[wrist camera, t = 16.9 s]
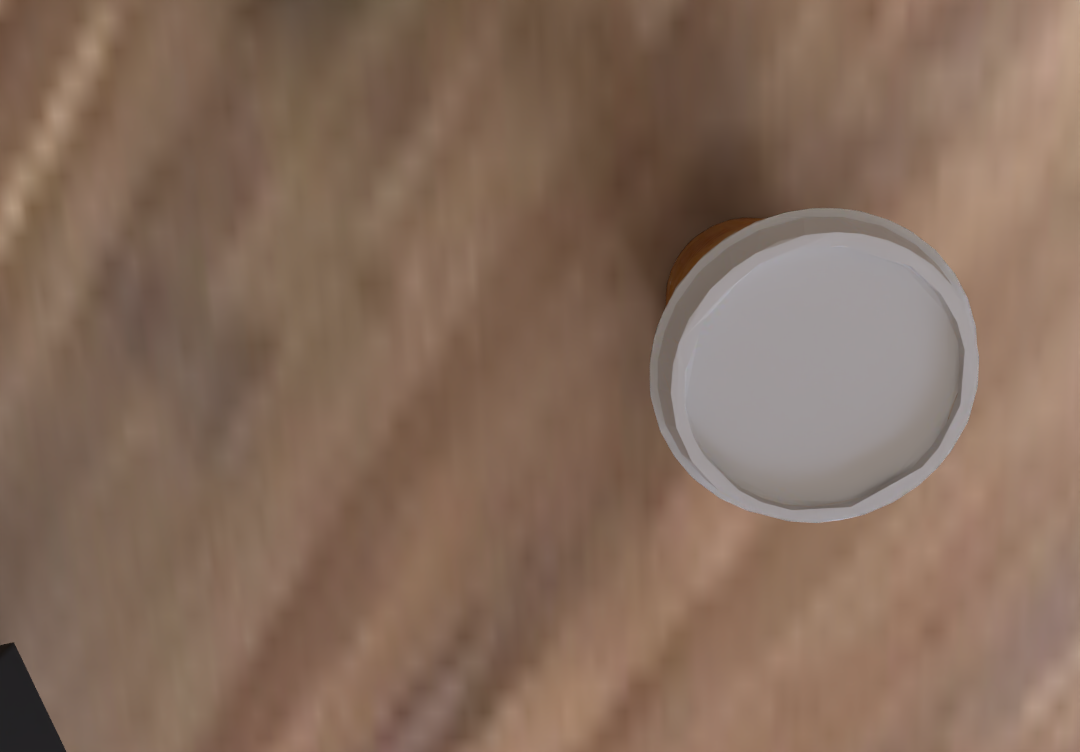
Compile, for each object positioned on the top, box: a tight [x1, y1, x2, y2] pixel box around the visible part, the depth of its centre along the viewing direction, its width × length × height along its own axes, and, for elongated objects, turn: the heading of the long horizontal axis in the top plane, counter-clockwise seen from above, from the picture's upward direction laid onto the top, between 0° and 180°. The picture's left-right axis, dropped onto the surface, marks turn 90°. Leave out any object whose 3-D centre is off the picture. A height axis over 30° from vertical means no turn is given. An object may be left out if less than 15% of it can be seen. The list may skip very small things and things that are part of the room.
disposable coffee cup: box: [650, 208, 979, 523], centre depth 31 cm, size 10×10×12 cm
